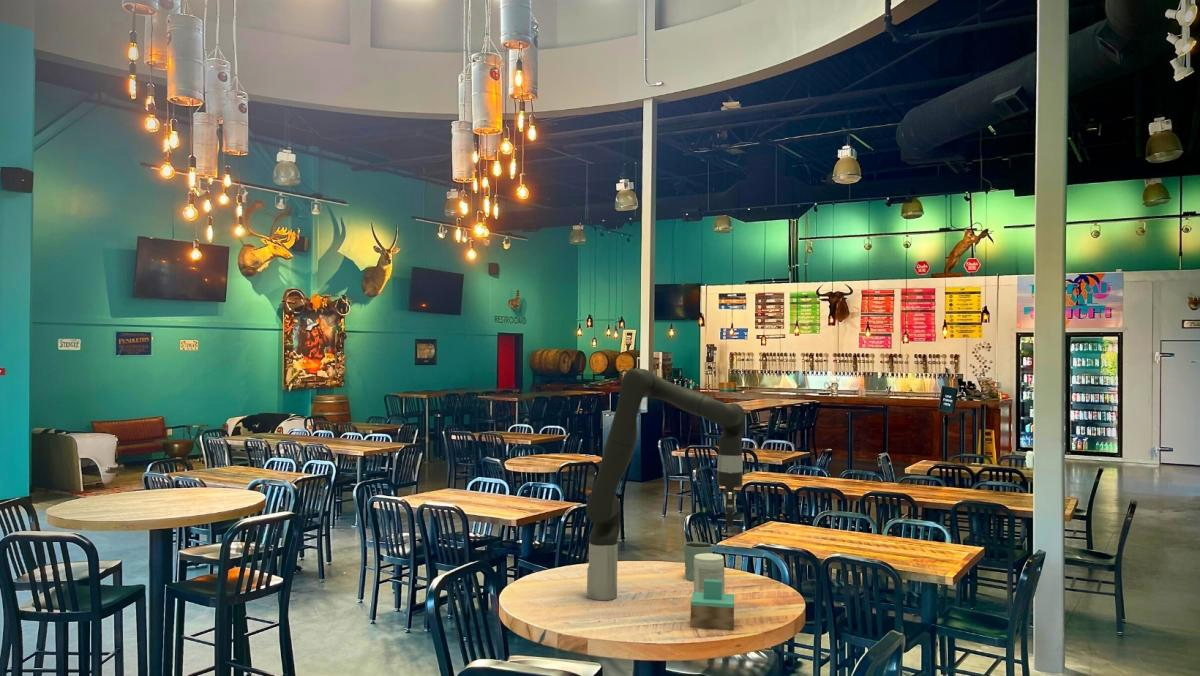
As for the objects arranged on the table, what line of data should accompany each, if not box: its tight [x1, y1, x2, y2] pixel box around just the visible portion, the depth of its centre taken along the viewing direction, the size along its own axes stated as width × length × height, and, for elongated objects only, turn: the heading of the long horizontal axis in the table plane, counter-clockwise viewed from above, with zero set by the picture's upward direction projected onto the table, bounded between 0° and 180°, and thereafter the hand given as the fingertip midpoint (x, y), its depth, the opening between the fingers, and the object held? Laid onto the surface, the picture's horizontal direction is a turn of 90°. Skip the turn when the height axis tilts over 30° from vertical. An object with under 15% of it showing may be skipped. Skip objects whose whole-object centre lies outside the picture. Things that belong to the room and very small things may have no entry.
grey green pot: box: [683, 541, 714, 582], centre depth 290 cm, size 10×10×12 cm
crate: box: [690, 604, 735, 631], centre depth 238 cm, size 12×10×7 cm
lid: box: [690, 579, 735, 609], centre depth 238 cm, size 12×10×7 cm
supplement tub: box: [693, 553, 725, 594], centre depth 260 cm, size 10×10×15 cm
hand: (729, 523), depth 249 cm, fingers open, 8 cm apart
